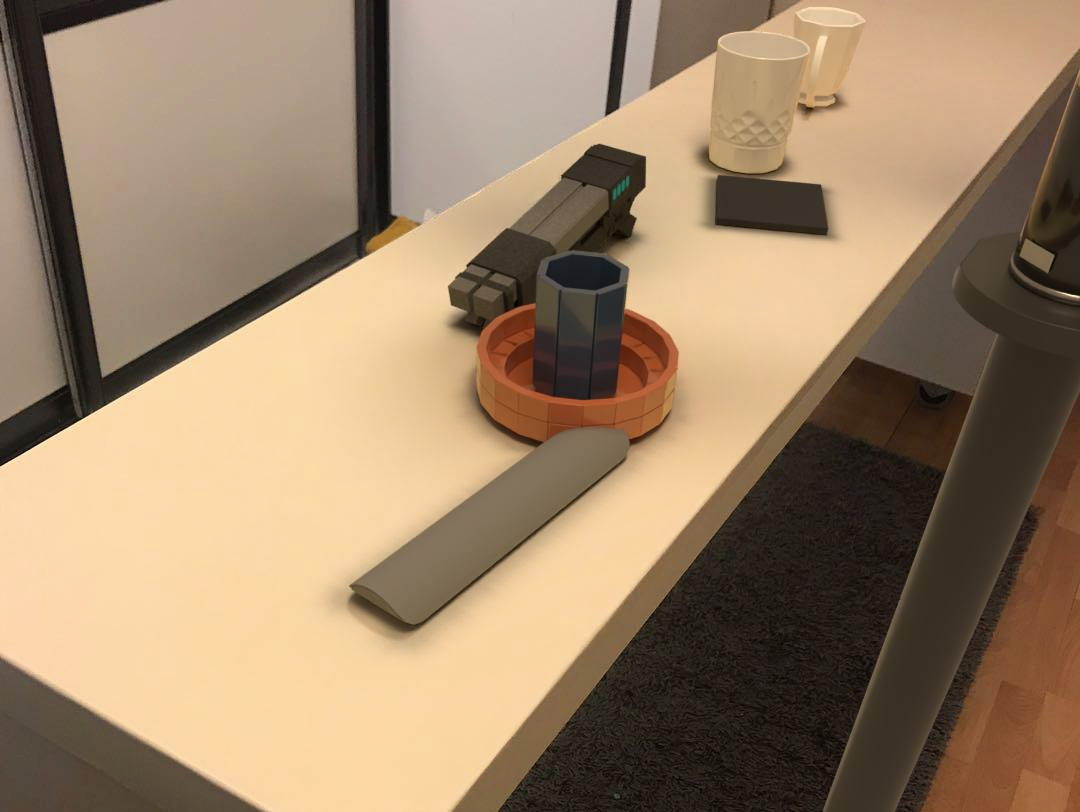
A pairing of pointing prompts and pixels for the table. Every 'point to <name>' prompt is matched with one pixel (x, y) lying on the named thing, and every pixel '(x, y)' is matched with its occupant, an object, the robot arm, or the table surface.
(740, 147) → the white cup
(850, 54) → the cup
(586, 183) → the gun
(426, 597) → the gray half cylinder
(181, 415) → the table surface
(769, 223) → the mat
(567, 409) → the big bowl
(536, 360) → the octagonal grey canister
